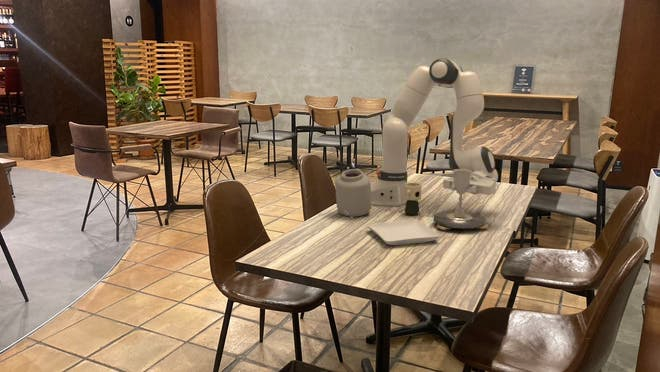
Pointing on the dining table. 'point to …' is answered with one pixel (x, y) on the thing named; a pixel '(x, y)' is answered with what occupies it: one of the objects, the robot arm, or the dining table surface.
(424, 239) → the salad plate
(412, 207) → the character mug
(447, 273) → the dining table surface
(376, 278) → the dining table surface
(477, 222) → the plate
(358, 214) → the jar
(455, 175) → the chalice
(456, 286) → the dining table surface
